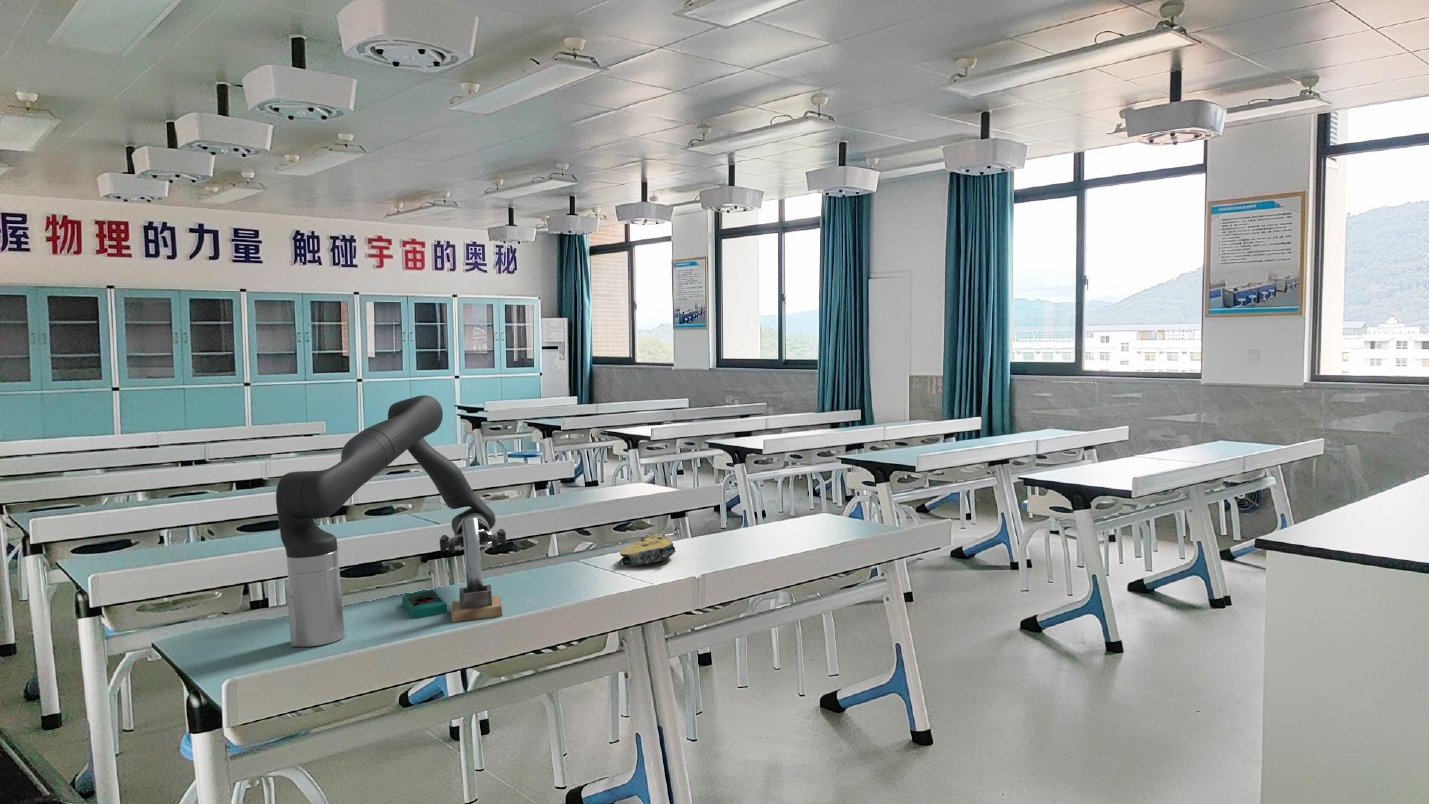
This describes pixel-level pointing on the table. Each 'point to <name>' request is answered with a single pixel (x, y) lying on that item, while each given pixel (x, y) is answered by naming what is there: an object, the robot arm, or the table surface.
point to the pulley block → (648, 550)
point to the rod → (472, 554)
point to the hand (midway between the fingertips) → (473, 545)
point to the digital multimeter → (424, 603)
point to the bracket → (476, 605)
